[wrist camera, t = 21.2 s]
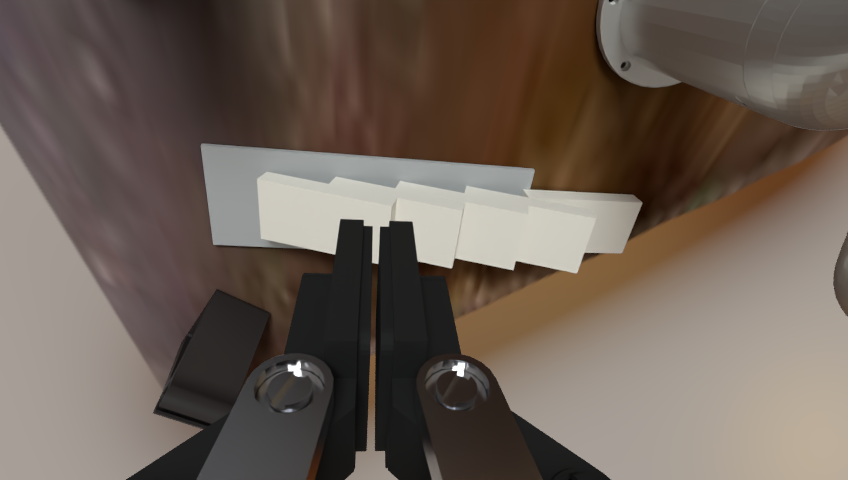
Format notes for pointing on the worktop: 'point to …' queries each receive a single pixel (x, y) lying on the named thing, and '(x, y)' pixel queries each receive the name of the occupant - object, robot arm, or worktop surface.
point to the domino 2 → (422, 220)
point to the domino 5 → (599, 215)
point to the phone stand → (212, 362)
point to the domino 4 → (549, 231)
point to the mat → (325, 181)
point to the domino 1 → (317, 212)
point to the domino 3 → (484, 226)
